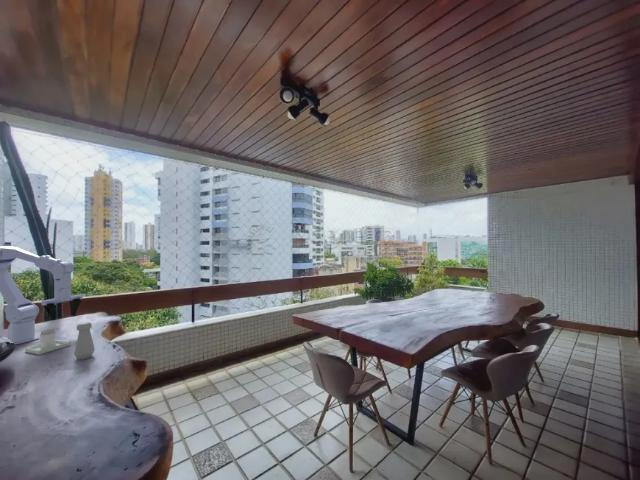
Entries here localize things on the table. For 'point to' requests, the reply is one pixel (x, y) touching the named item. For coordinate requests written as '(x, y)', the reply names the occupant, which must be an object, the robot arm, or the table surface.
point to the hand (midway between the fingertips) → (63, 317)
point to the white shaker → (47, 339)
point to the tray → (38, 351)
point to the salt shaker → (84, 342)
